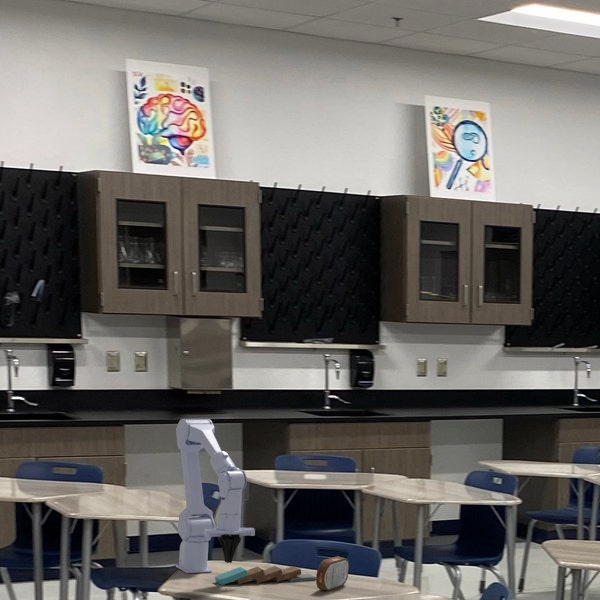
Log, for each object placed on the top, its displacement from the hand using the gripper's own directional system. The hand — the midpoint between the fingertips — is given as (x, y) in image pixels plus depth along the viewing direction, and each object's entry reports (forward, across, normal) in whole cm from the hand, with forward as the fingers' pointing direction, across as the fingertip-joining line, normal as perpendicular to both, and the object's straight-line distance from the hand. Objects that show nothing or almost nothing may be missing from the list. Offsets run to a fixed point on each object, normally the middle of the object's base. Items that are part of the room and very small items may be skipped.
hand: (228, 562), depth 325 cm
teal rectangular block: (+5, -3, 0) cm, 6 cm away
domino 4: (+6, +19, 0) cm, 20 cm away
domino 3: (+5, +14, 0) cm, 15 cm away
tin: (+6, +27, -12) cm, 30 cm away
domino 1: (+5, +2, 0) cm, 6 cm away
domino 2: (+5, +8, 0) cm, 10 cm away
